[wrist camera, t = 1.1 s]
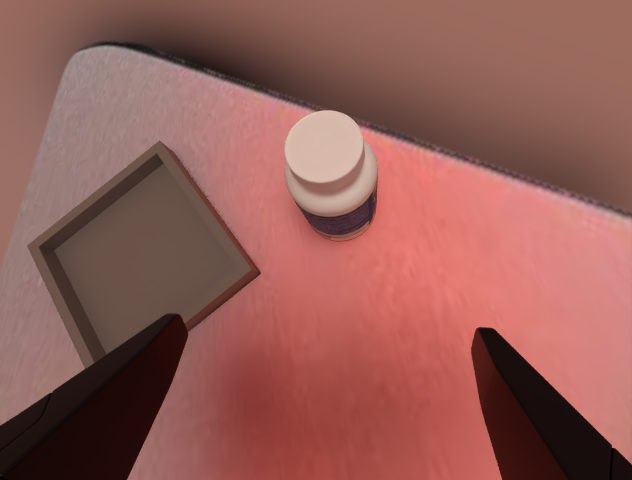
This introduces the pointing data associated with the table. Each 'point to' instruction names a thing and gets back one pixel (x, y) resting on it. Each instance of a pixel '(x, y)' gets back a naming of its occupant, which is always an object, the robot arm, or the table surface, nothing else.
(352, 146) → the pill bottle
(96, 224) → the tray
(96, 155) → the table surface
